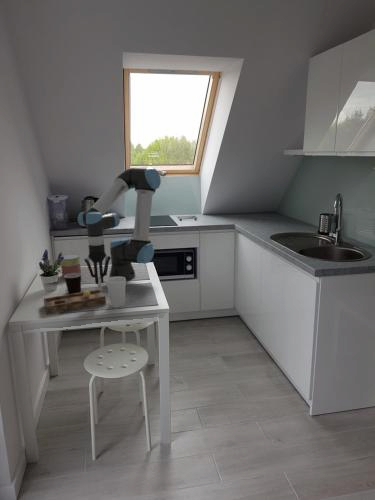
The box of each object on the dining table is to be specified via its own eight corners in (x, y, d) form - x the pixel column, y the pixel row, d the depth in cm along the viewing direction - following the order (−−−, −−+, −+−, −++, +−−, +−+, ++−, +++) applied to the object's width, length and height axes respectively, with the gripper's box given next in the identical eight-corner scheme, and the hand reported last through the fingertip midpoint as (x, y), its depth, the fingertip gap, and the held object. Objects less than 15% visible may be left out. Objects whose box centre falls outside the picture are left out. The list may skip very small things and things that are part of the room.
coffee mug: (78, 296, 203) (76, 278, 200) (63, 295, 205) (61, 277, 202) (88, 288, 214) (86, 271, 211) (73, 288, 216) (71, 270, 213)
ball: (89, 296, 196) (89, 289, 195) (91, 298, 193) (90, 291, 192) (82, 297, 195) (82, 290, 194) (84, 299, 192) (83, 292, 191)
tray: (100, 295, 203) (100, 289, 202) (105, 303, 192) (105, 296, 191) (44, 305, 192) (43, 298, 191) (46, 314, 181) (45, 307, 180)
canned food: (64, 273, 243) (62, 254, 240) (83, 272, 243) (81, 253, 240) (60, 279, 232) (57, 259, 229) (79, 278, 232) (77, 258, 229)
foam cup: (118, 309, 184) (116, 284, 181) (104, 306, 189) (101, 280, 186) (131, 303, 192) (129, 278, 189) (117, 299, 197) (115, 275, 194)
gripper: (107, 241, 196) (111, 285, 201) (81, 243, 191) (85, 289, 196) (111, 244, 189) (114, 289, 195) (84, 247, 184) (88, 294, 190)
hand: (100, 289), depth 195 cm, fingers closed
